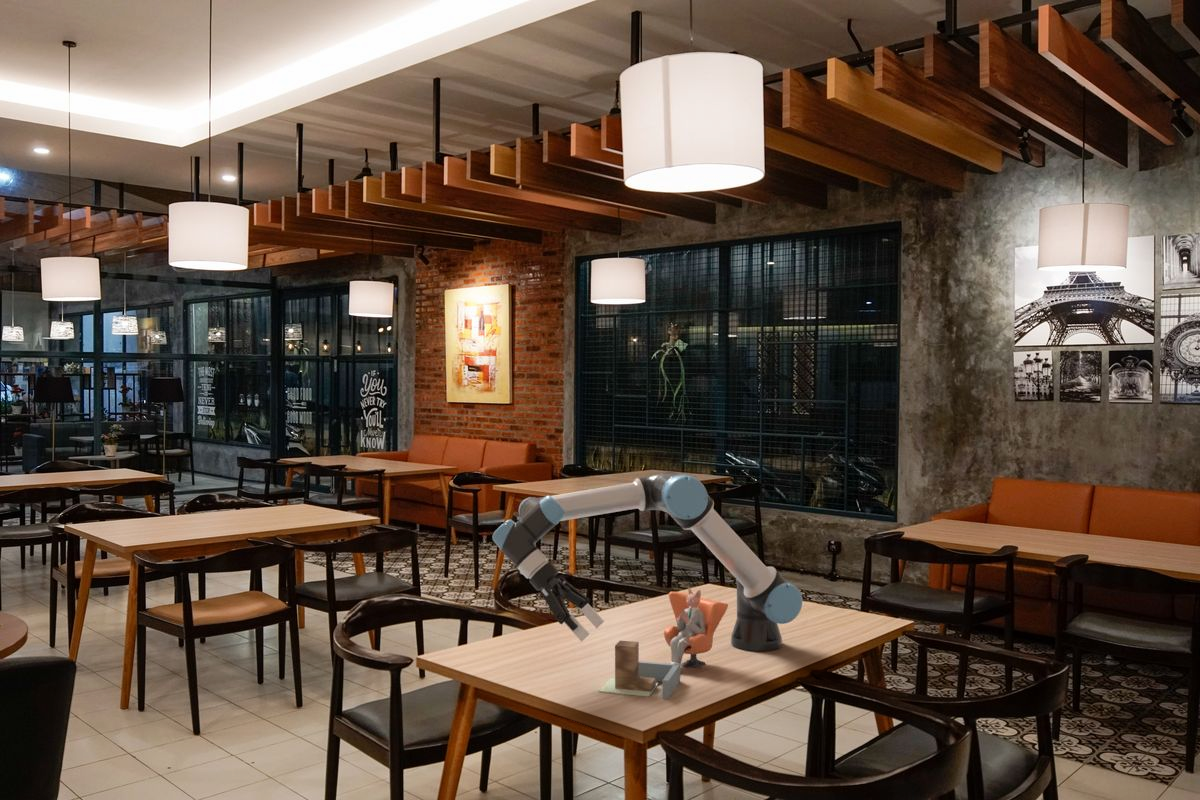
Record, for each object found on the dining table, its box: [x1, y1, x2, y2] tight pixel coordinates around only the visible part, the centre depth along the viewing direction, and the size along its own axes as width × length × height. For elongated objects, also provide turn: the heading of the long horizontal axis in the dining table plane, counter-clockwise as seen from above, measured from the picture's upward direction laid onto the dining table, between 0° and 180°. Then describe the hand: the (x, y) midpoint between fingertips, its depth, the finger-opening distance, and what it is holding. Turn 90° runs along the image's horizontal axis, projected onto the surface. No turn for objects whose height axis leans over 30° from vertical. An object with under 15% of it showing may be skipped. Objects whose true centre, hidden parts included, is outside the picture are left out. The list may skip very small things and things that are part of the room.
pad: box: [598, 677, 660, 698], centre depth 237 cm, size 13×11×1 cm
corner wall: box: [639, 660, 681, 700], centre depth 238 cm, size 15×14×4 cm
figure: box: [663, 587, 729, 670], centre depth 255 cm, size 22×18×21 cm
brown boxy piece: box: [614, 640, 657, 693], centre depth 237 cm, size 10×5×11 cm, turn 74°
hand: (593, 631), depth 240 cm, fingers open, 13 cm apart
